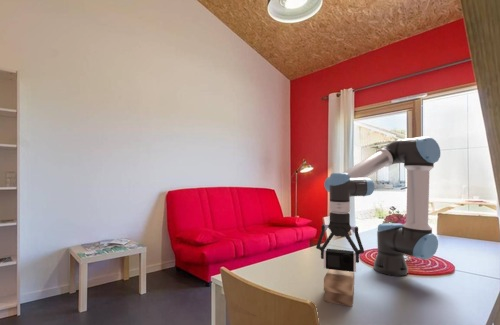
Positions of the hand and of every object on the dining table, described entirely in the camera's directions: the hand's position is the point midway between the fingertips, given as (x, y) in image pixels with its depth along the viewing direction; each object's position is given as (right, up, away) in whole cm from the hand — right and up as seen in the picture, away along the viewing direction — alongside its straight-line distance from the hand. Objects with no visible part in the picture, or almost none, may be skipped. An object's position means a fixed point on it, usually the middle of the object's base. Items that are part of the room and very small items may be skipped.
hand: (339, 268), depth 112 cm
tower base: (0, -11, 0) cm, 11 cm away
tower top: (0, -7, 0) cm, 7 cm away
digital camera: (0, 0, 0) cm, 1 cm away
